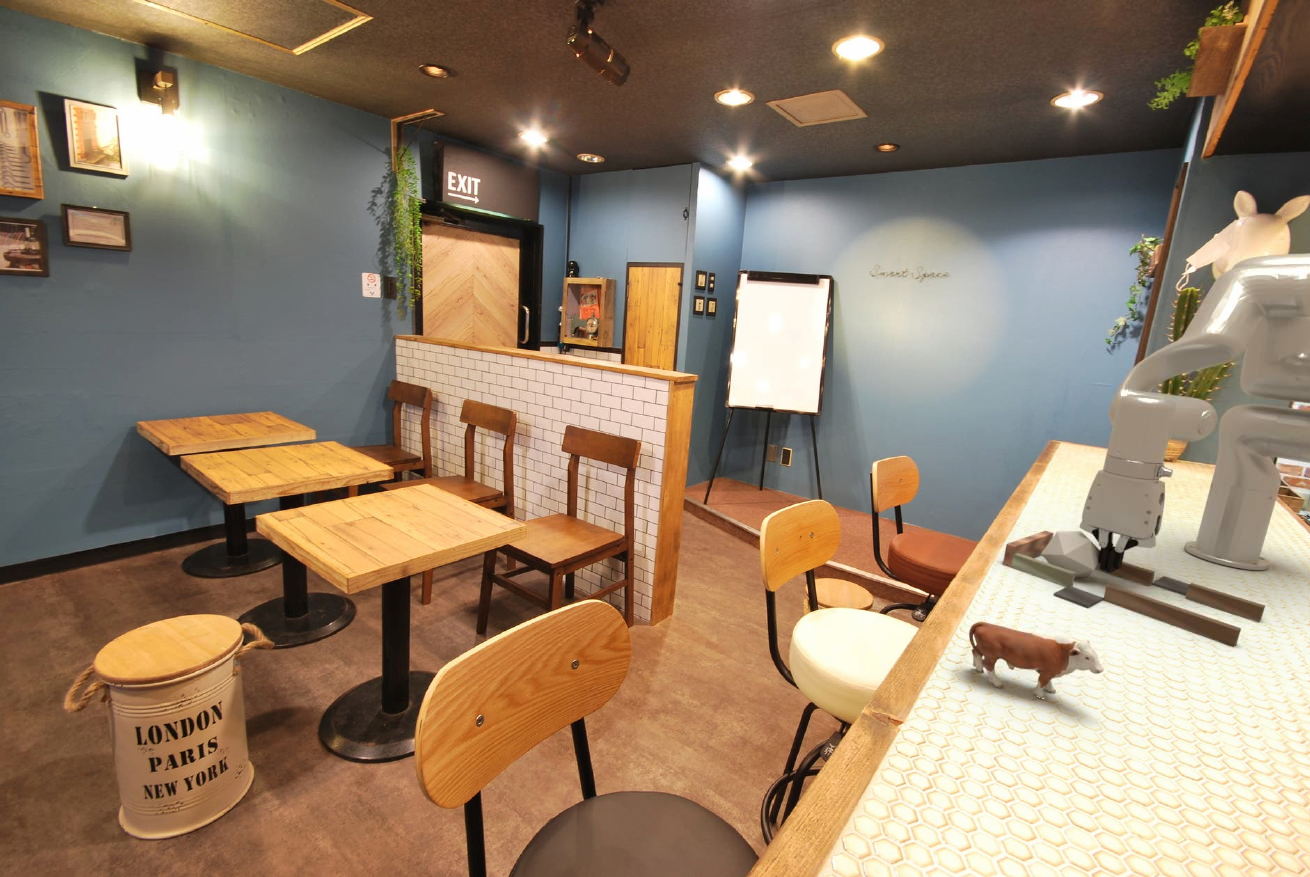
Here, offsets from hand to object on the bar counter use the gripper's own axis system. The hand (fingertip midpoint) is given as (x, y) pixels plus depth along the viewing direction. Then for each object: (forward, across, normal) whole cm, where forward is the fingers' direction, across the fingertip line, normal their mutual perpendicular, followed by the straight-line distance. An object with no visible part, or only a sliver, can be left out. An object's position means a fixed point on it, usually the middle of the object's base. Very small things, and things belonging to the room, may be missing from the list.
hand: (1108, 569), depth 103 cm
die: (+3, +5, +1) cm, 6 cm away
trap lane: (+3, -2, 0) cm, 4 cm away
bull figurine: (+3, -7, +47) cm, 47 cm away
